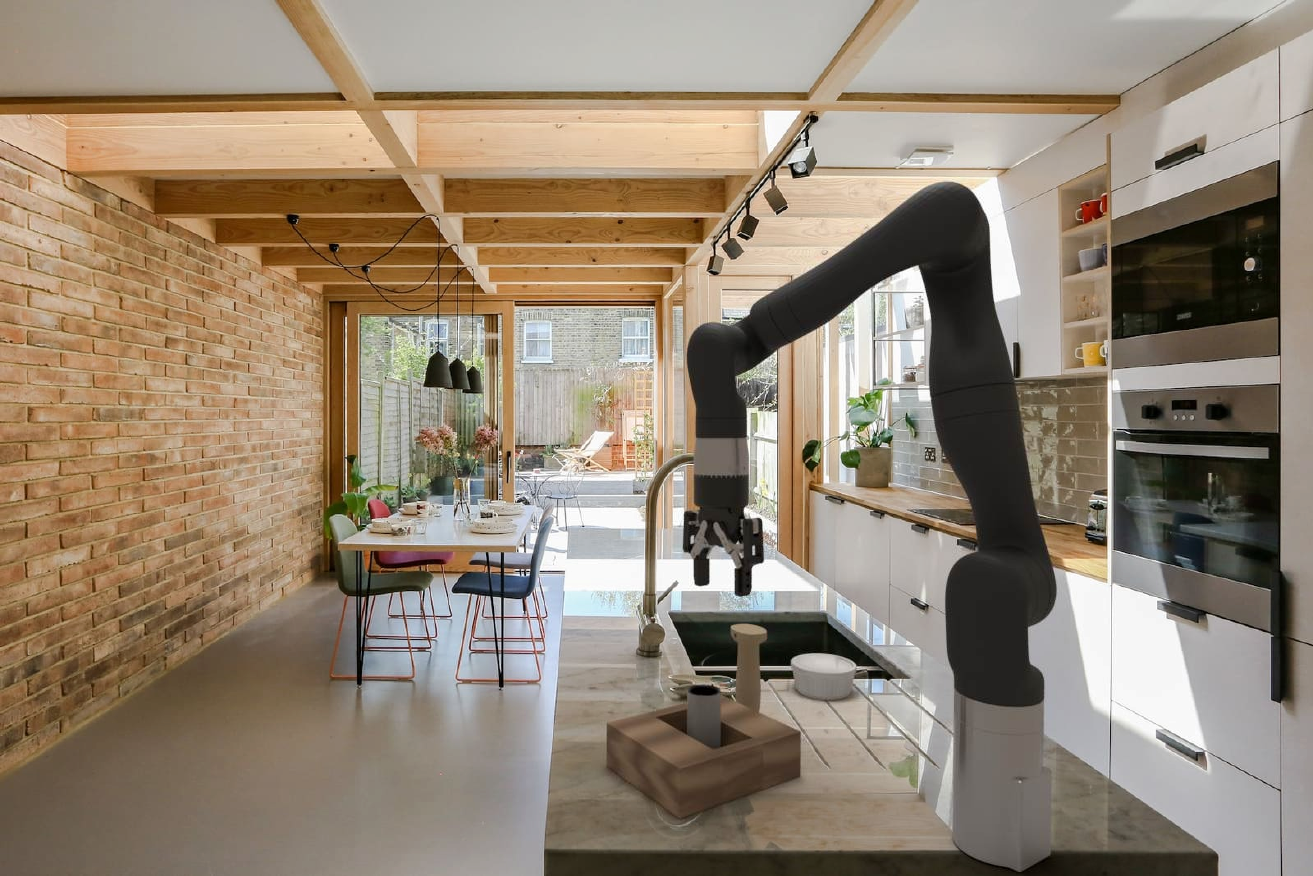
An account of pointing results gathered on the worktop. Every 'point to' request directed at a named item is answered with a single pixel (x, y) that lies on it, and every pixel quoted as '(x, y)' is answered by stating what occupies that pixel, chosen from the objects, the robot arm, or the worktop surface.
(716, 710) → the grey cylinder
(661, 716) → the well block
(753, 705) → the handle
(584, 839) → the worktop surface
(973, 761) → the robot arm
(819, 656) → the ramekin
